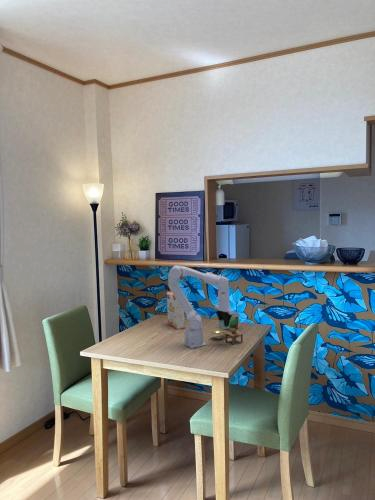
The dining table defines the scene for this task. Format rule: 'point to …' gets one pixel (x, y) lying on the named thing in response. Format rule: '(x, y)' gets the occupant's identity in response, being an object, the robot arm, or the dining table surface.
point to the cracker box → (175, 312)
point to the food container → (234, 321)
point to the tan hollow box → (233, 335)
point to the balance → (218, 331)
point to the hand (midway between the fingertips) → (224, 325)
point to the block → (222, 326)
